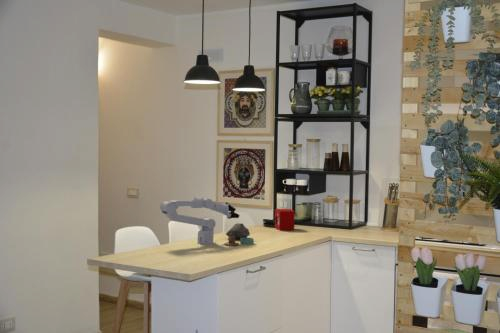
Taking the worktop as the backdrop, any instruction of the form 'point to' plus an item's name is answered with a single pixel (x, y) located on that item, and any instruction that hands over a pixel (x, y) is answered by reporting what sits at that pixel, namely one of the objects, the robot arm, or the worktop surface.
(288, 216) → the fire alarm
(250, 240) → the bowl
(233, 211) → the robot arm
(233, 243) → the lid
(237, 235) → the stone
